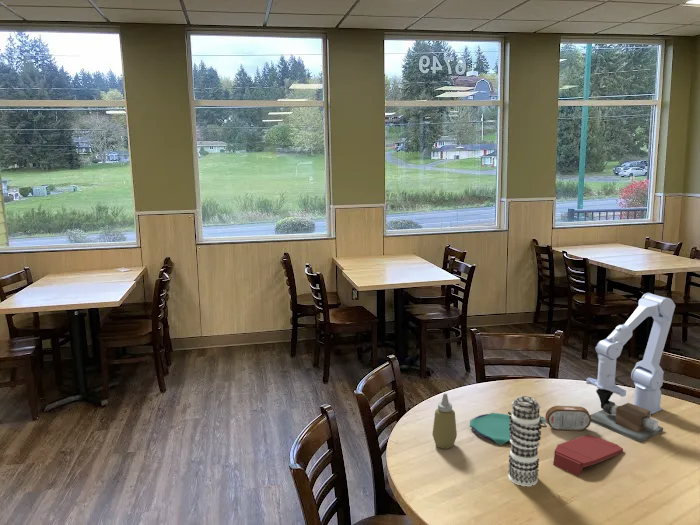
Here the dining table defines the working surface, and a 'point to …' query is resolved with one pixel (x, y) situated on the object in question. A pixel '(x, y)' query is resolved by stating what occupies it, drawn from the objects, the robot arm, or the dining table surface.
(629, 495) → the dining table surface
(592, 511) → the dining table surface
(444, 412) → the squeeze bottle
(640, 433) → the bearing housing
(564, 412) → the tin
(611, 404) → the shaft
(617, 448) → the red bent panel
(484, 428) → the green flat slab
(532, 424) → the decorative candle
